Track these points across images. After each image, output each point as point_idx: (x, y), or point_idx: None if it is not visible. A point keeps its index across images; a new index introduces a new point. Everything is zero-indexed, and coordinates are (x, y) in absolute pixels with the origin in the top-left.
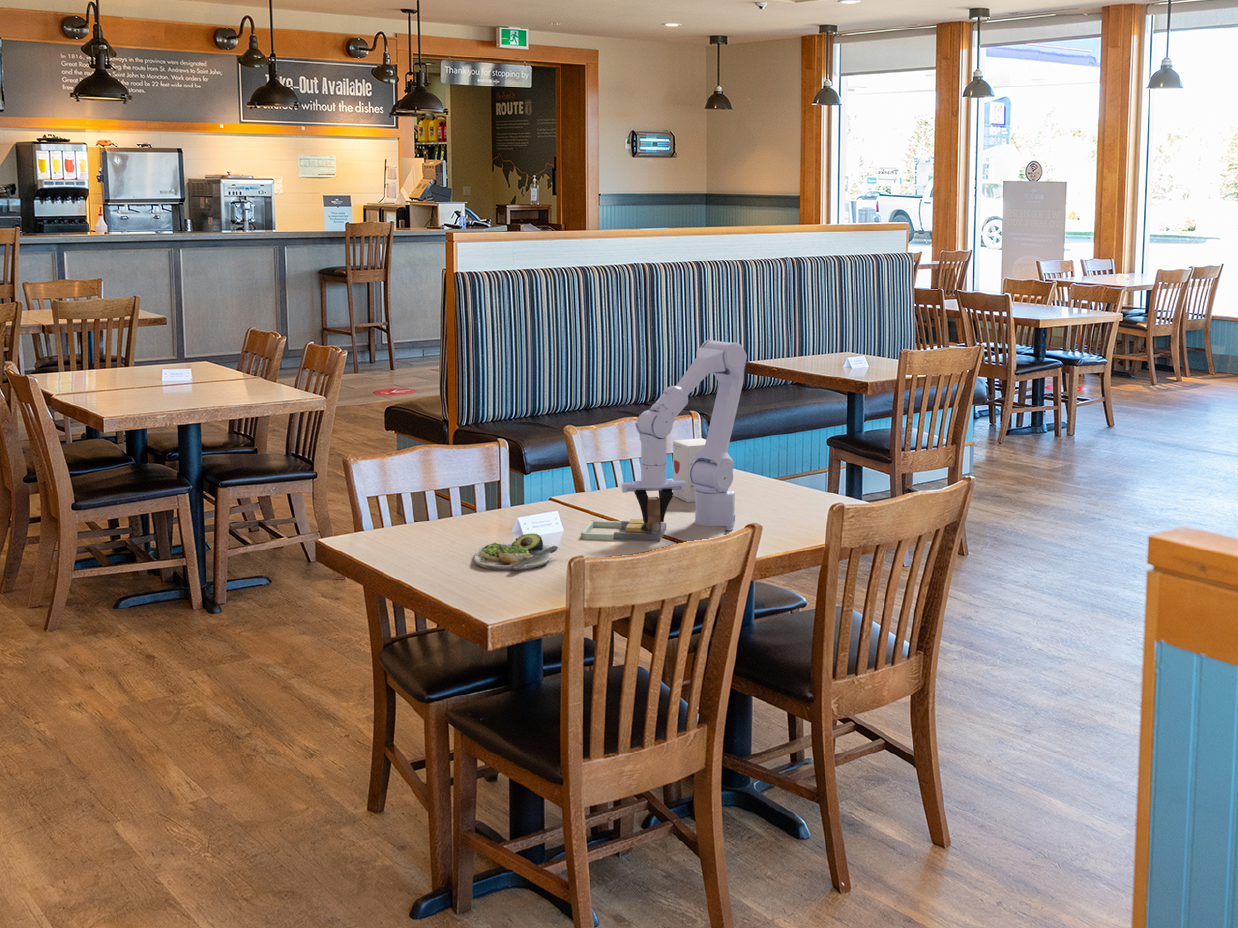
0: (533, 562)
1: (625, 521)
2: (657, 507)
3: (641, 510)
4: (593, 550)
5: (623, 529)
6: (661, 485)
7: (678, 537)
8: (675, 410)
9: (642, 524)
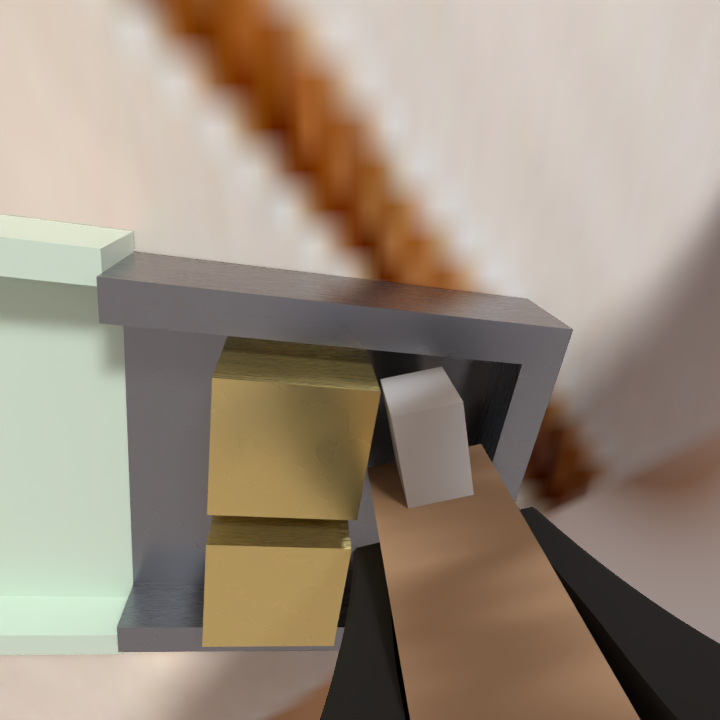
0: None
1: (143, 297)
2: None
3: (345, 640)
4: (47, 702)
5: (154, 349)
6: None
7: (593, 408)
8: None
9: (344, 559)
